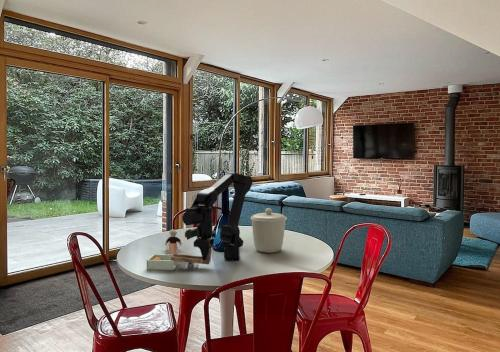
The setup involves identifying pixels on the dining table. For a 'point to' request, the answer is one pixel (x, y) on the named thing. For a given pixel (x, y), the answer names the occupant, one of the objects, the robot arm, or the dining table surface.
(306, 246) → the dining table surface
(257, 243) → the canister
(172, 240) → the grandmother figurine
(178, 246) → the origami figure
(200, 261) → the brown wooden ramp
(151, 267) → the tray
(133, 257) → the dining table surface
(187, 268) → the fulcrum
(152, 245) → the dining table surface
